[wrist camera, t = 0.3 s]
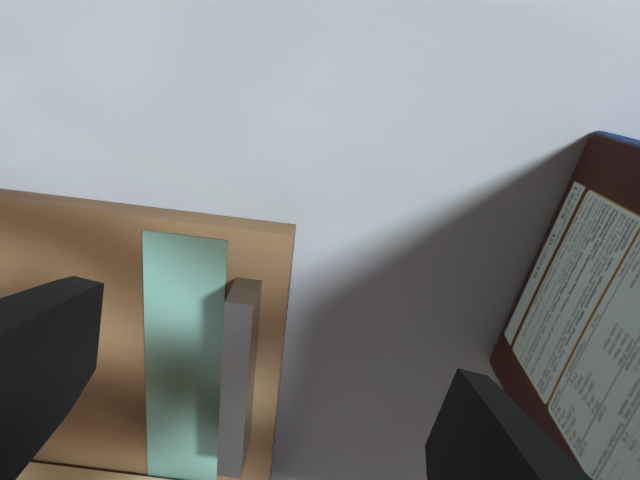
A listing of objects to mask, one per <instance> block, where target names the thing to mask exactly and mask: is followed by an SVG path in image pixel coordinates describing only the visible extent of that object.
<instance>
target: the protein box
mask: <svg viewBox="0 0 640 480" xmlns="http://www.w3.org/2000/svg"><path fill="white" fill-rule="evenodd" d="M490 364H491V366H492V368H493V370H494V373H495V375H496V377H497V378H498V380H499V382H500V384H501V386H502V388H503V390H504V391H505V392H506V393H507V394H508V395H509V396H510V397H511V398H512V399H513V400H514V401H515V402H516V403H517V404H518V406H519V407H520V408H521V409H522V410H523V411H524V412H525V413H526V414H527V415H528V416H529V417H530V418H531V419H532V420H533V421H534V422H535V423H536V424H537V425H538V426H539V427H540V428H541V429H542V430H543V431H544V432H545V433H546V434H547V435H548V436H549V437H550V438H551V439H552V440H553V441H554V442H555V443H556V444H557V445H558V446H559V447H560V448H561V449H562V450H563V451H564V452H565V453H566V454H567V455H568V456H569V457H570V458H571V459H572V460H573V461H574V462H575V463H576V464H577V465H578V466H579V467H580V468H581V469H582V470H583V471H584V472H585V473H586V474H587V475H588V476H589V477H590V478H592V479H593V480H640V140H636V139H632V138H628V137H625V136H620V135H616V134H612V133H608V132H603V131H596V132H594V133H593V134H592V136H591V138H590V139H589V141H588V143H587V146H586V148H585V150H584V152H583V154H582V156H581V159H580V161H579V163H578V165H577V167H576V170H575V172H574V175H573V177H572V179H571V182H570V184H569V186H568V188H567V190H566V192H565V194H564V197H563V199H562V201H561V203H560V206H559V208H558V210H557V212H556V214H555V216H554V219H553V221H552V223H551V226H550V228H549V230H548V232H547V234H546V236H545V239H544V241H543V243H542V245H541V247H540V249H539V252H538V254H537V256H536V258H535V260H534V262H533V265H532V267H531V270H530V272H529V274H528V276H527V278H526V281H525V283H524V285H523V288H522V290H521V291H520V294H519V296H518V298H517V300H516V302H515V305H514V307H513V309H512V312H511V314H510V316H509V318H508V320H507V323H506V325H505V327H504V329H503V332H502V334H501V336H500V338H499V341H498V343H497V345H496V348H495V350H494V352H493V354H492V356H491V358H490Z"/></svg>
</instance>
